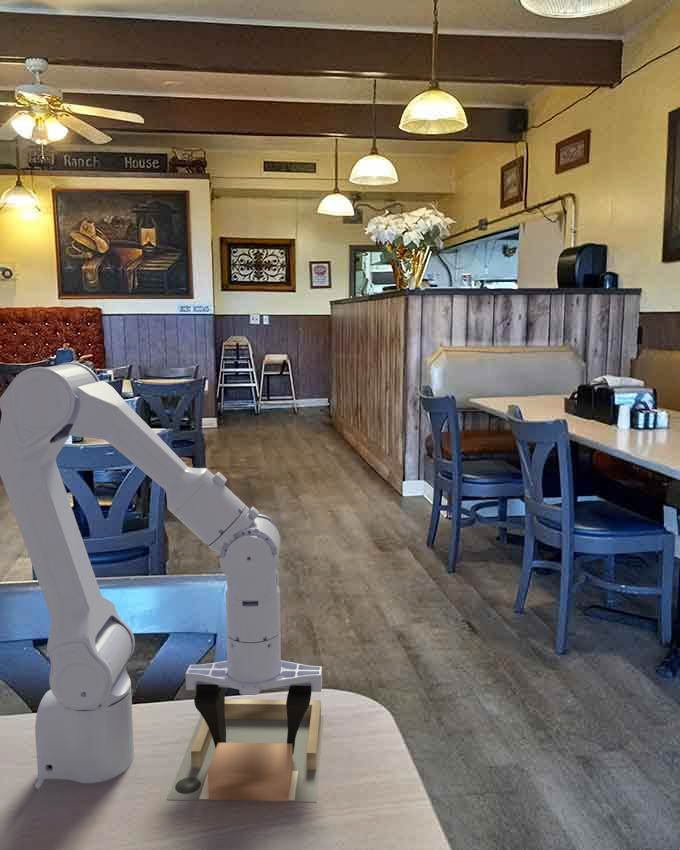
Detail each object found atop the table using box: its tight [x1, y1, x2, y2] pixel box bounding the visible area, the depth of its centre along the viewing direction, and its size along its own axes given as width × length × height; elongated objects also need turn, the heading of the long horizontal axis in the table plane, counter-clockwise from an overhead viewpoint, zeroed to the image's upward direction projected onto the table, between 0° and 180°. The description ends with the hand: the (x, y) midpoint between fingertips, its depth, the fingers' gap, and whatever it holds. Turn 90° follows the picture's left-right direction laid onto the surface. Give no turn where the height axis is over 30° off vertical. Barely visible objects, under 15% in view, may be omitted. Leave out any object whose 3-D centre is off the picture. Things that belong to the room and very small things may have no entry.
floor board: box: [166, 714, 324, 803], centre depth 78 cm, size 15×16×1 cm
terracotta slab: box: [208, 743, 293, 802], centre depth 72 cm, size 8×5×3 cm, turn 89°
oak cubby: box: [191, 698, 322, 770], centre depth 80 cm, size 13×10×2 cm
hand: (255, 748), depth 76 cm, fingers open, 7 cm apart
